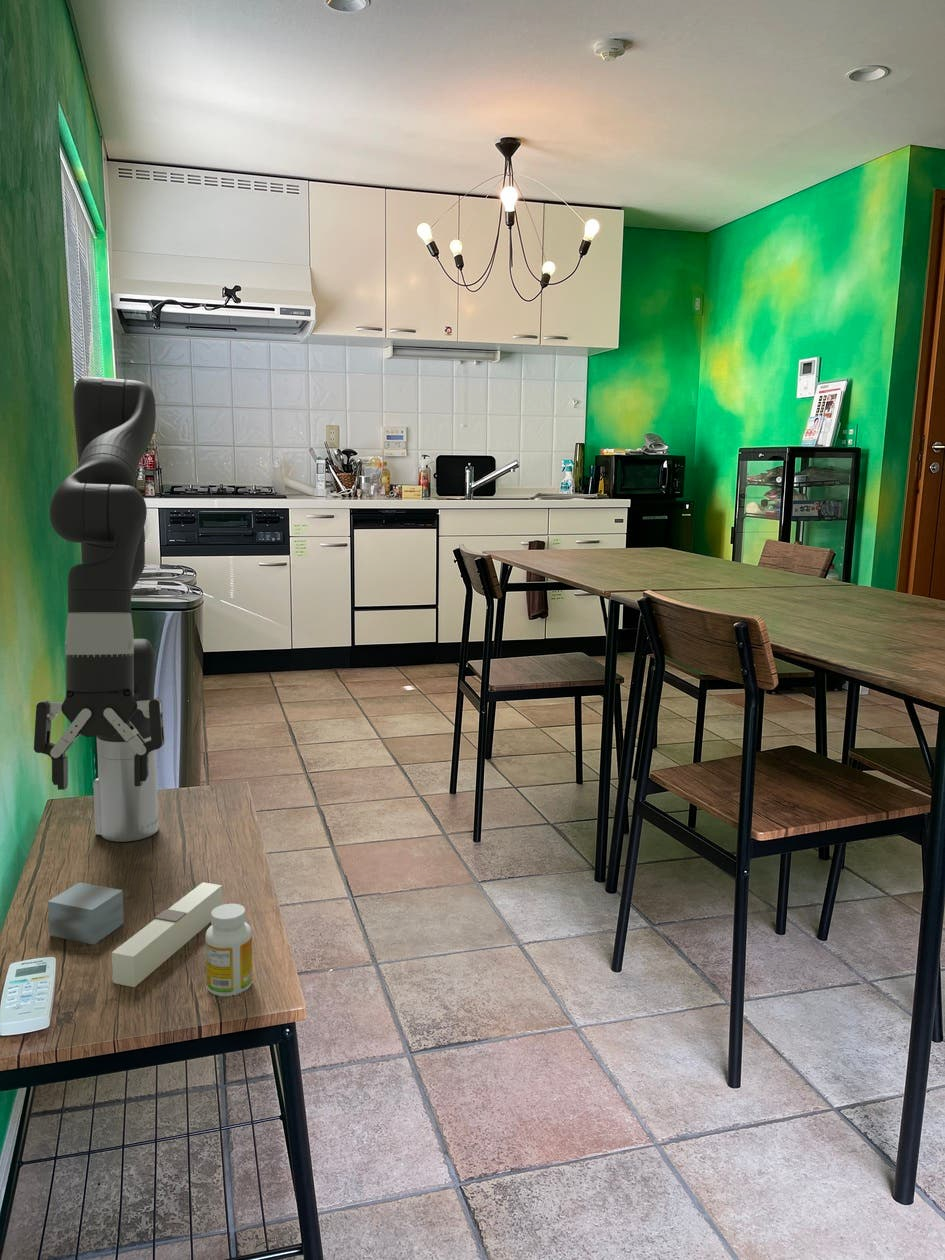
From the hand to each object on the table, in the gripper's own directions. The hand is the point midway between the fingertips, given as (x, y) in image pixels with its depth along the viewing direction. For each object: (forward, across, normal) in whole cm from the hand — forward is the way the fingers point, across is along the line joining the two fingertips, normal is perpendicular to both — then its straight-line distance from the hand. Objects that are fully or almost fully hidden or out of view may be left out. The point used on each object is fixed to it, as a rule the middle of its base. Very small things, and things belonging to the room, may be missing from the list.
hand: (100, 787), depth 109 cm
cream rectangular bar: (+22, -7, -10) cm, 25 cm away
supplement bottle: (+25, -15, +1) cm, 29 cm away
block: (+22, +5, -16) cm, 27 cm away
